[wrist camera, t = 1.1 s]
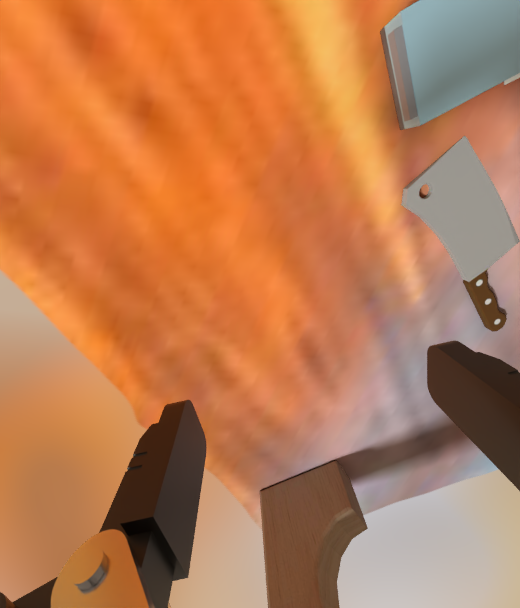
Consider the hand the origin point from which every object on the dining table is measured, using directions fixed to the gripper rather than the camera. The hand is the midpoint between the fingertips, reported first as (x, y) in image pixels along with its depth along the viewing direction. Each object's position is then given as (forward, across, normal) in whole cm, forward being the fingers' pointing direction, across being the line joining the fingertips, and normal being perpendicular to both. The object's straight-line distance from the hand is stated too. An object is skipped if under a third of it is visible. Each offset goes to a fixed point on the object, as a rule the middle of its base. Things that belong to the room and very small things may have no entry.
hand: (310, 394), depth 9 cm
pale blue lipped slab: (+20, -18, -14) cm, 30 cm away
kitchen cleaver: (+22, -24, +4) cm, 33 cm away
